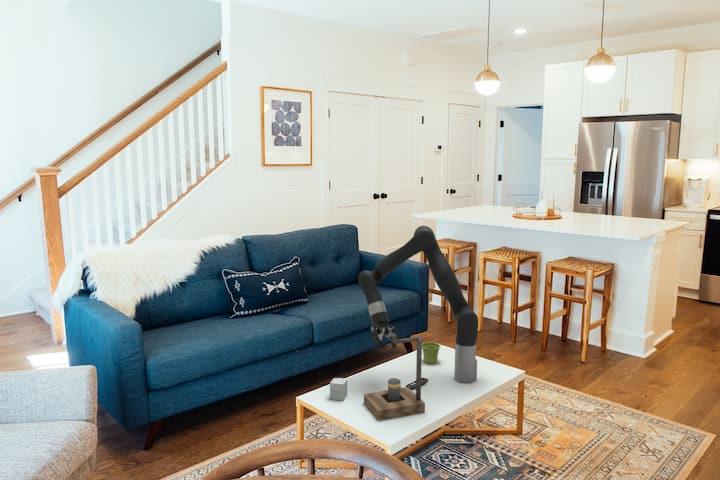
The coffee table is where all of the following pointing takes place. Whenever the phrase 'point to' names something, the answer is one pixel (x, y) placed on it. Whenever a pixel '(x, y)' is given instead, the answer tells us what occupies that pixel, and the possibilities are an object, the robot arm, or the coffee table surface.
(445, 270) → the robot arm
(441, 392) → the coffee table surface
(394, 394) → the banded grey cylinder
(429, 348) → the plant pot
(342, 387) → the skincare box
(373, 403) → the wooden gallows stand
